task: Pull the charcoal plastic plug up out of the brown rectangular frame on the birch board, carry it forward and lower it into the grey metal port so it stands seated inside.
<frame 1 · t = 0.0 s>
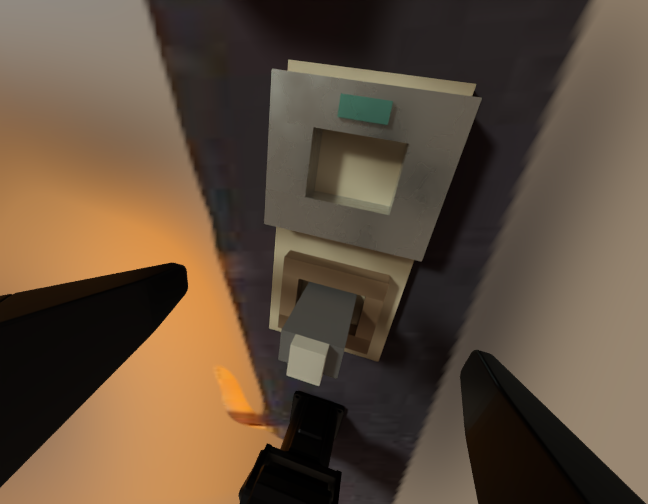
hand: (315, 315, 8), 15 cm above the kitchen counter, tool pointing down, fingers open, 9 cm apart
plug: (331, 298, 24), point 1 cm above the kitchen counter, touching board
brown rectangular frame: (333, 292, 25), resting on board
port: (358, 167, 20), resting on board
board: (344, 237, 22), on the kitchen counter
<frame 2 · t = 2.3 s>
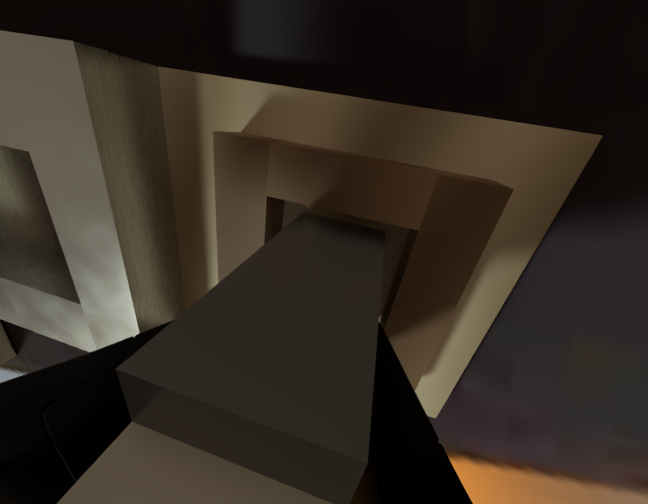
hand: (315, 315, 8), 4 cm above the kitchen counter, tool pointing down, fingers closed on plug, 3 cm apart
plug: (332, 275, 10), point 1 cm above the kitchen counter, touching board, gripper
brown rectangular frame: (337, 263, 11), resting on board
port: (104, 203, 13), resting on board
board: (212, 231, 12), on the kitchen counter
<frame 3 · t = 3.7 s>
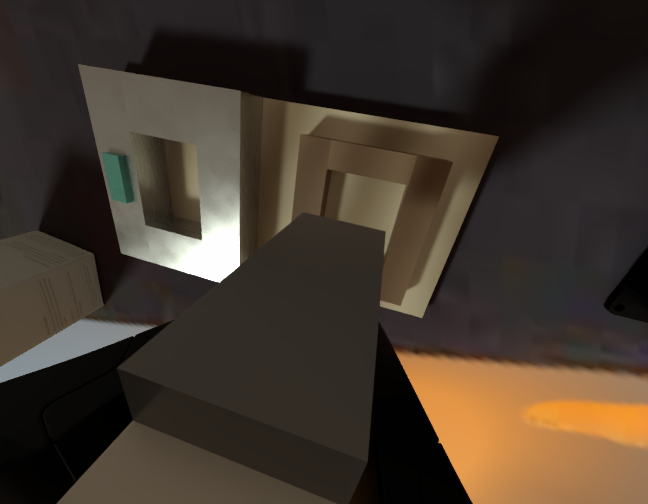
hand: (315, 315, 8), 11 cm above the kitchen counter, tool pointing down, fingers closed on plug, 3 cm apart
plug: (332, 275, 10), point 8 cm above the kitchen counter, touching gripper
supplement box: (74, 268, 28), on the kitchen counter
brown rectangular frame: (360, 216, 17), resting on board
port: (204, 180, 19), resting on board
board: (278, 197, 18), on the kitchen counter
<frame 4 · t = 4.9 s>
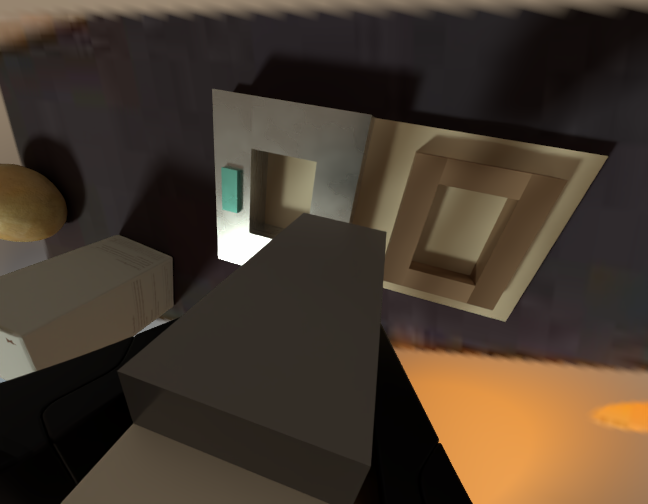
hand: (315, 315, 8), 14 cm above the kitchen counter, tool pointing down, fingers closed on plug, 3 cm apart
plug: (333, 275, 10), point 11 cm above the kitchen counter, touching gripper
onion: (53, 197, 29), on the kitchen counter
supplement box: (149, 270, 29), on the kitchen counter
brown rectangular frame: (451, 226, 19), resting on board
port: (297, 191, 21), resting on board
board: (370, 207, 20), on the kitchen counter
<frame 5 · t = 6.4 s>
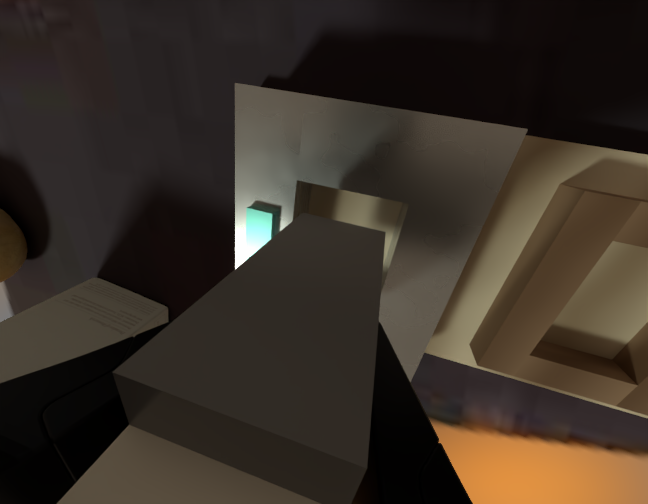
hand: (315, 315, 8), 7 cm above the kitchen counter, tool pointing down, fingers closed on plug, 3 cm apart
plug: (332, 275, 10), point 5 cm above the kitchen counter, touching gripper
onion: (9, 228, 22), on the kitchen counter
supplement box: (137, 320, 23), on the kitchen counter
brown rectangular frame: (585, 287, 13), resting on board
port: (349, 232, 14), resting on board
board: (459, 258, 13), on the kitchen counter
when the fingers open (4 cm above the kitchen counter, at t = 7.6 s): plug stays where it is, resting on board.
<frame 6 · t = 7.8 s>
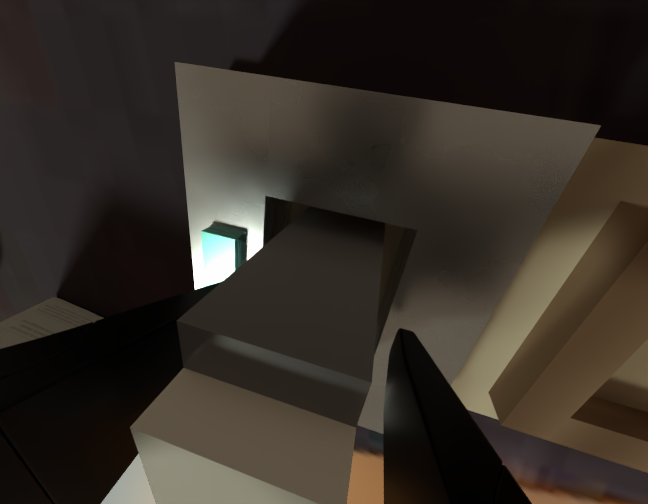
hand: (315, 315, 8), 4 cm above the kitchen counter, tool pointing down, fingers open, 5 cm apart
plug: (337, 264, 11), point 1 cm above the kitchen counter, touching board
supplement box: (105, 344, 20), on the kitchen counter
brown rectangular frame: (639, 329, 10), resting on board
port: (340, 254, 12), resting on board
board: (477, 288, 11), on the kitchen counter
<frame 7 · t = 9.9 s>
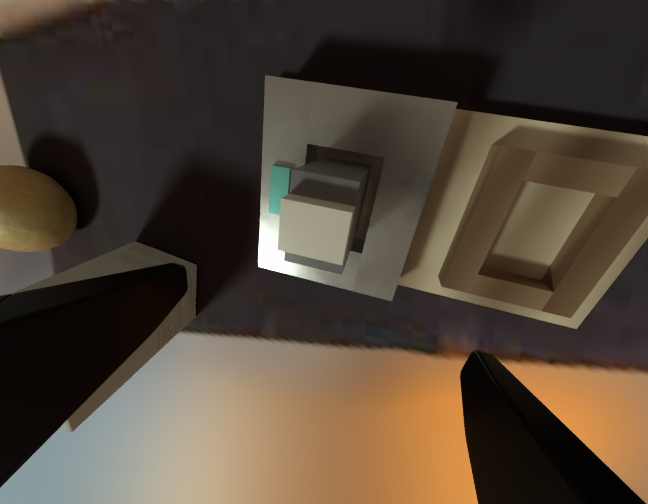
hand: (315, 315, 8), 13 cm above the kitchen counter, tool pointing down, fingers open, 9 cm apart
plug: (343, 194, 18), point 1 cm above the kitchen counter, touching board
onion: (61, 202, 26), on the kitchen counter
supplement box: (168, 279, 27), on the kitchen counter
brown rectangular frame: (520, 226, 17), resting on board
port: (345, 191, 19), resting on board
board: (428, 208, 18), on the kitchen counter
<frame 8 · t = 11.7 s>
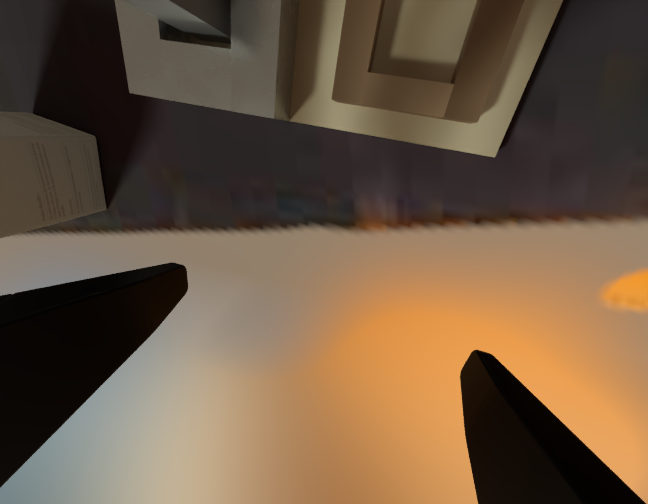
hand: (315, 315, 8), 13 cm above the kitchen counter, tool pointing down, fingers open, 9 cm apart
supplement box: (74, 164, 25), on the kitchen counter
brown rectangular frame: (423, 23, 14), resting on board
port: (229, 2, 16), resting on board
board: (320, 12, 15), on the kitchen counter
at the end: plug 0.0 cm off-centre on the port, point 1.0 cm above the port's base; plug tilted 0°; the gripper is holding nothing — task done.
